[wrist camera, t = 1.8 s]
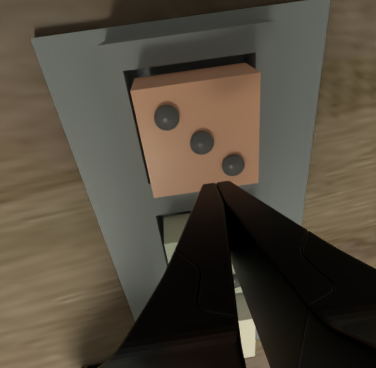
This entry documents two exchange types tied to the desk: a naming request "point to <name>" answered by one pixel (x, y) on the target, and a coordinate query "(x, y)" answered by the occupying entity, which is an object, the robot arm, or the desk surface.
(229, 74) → the tile
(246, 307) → the tile
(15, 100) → the desk surface
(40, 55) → the board
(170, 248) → the tile
